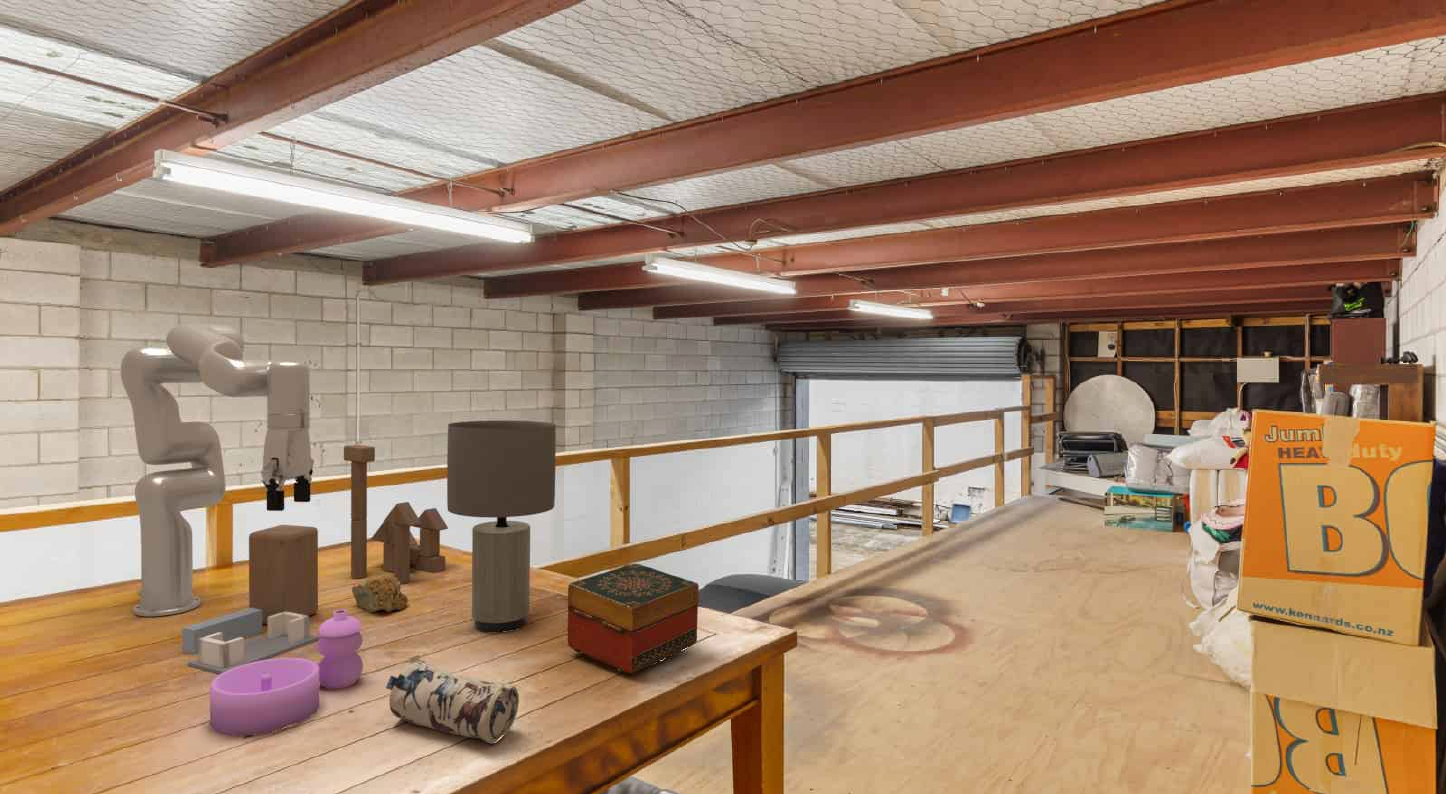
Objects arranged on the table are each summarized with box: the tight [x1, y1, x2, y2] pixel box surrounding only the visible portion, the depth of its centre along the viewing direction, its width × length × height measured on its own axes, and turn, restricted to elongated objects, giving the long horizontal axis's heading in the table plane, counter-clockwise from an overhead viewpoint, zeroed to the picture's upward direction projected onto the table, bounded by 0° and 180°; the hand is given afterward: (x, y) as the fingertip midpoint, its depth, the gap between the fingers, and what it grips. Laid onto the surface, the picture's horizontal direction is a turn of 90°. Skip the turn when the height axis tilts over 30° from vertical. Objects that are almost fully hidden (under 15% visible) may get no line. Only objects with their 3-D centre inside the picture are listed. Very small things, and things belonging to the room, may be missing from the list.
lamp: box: [446, 420, 557, 633], centre depth 170 cm, size 23×23×44 cm
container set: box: [209, 608, 364, 737], centre depth 130 cm, size 25×15×13 cm, turn 154°
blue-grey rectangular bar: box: [182, 607, 263, 656], centre depth 157 cm, size 14×4×5 cm, turn 157°
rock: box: [351, 575, 409, 613], centre depth 180 cm, size 12×9×10 cm
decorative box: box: [567, 563, 700, 675], centre depth 154 cm, size 20×22×16 cm
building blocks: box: [343, 444, 449, 585], centre depth 207 cm, size 19×25×35 cm
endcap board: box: [187, 611, 320, 675], centre depth 151 cm, size 10×20×5 cm, turn 157°
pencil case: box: [385, 654, 520, 745], centre depth 122 cm, size 22×8×10 cm, turn 66°
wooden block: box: [248, 524, 319, 625], centre depth 171 cm, size 10×10×20 cm
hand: (289, 506), depth 157 cm, fingers open, 9 cm apart
